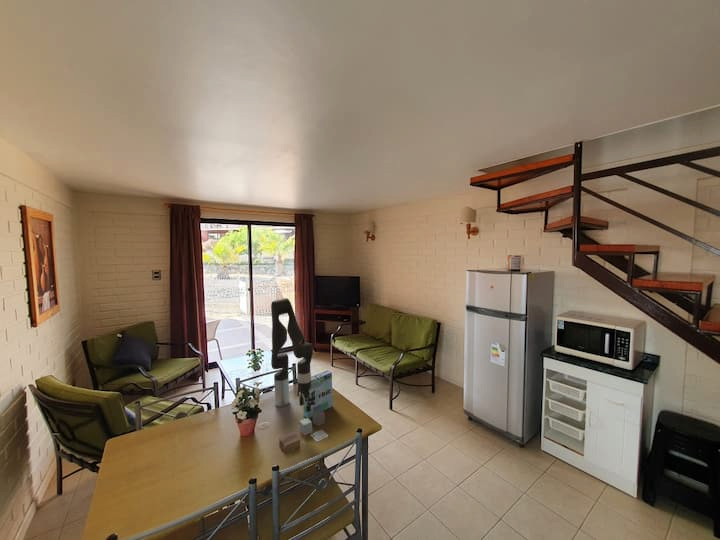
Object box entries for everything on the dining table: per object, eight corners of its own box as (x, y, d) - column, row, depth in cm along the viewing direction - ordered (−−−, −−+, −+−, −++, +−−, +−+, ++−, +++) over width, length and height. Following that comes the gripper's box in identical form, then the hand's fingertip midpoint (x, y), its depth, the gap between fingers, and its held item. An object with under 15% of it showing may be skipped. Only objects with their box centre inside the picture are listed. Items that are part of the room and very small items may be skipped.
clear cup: (299, 431, 160) (299, 421, 160) (307, 428, 163) (307, 417, 163) (304, 435, 156) (303, 425, 156) (312, 432, 160) (311, 421, 159)
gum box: (328, 403, 189) (327, 370, 188) (333, 406, 186) (332, 372, 184) (303, 415, 176) (302, 379, 175) (307, 419, 172) (306, 382, 171)
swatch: (310, 435, 157) (310, 434, 157) (321, 430, 161) (321, 429, 161) (316, 441, 151) (316, 440, 151) (328, 436, 155) (328, 435, 155)
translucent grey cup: (312, 423, 168) (312, 413, 168) (318, 419, 172) (318, 409, 172) (318, 426, 165) (318, 416, 165) (325, 422, 169) (324, 412, 169)
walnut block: (279, 445, 149) (279, 437, 149) (293, 439, 154) (293, 431, 154) (285, 453, 143) (285, 445, 143) (300, 447, 148) (299, 439, 148)
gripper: (292, 377, 161) (293, 405, 162) (303, 386, 150) (304, 416, 151) (304, 373, 166) (305, 401, 167) (316, 382, 155) (317, 411, 156)
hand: (305, 408), depth 159 cm, fingers open, 8 cm apart
